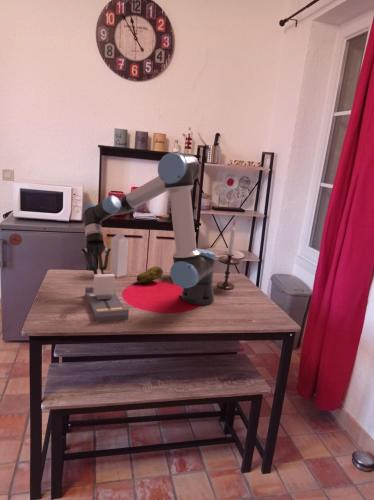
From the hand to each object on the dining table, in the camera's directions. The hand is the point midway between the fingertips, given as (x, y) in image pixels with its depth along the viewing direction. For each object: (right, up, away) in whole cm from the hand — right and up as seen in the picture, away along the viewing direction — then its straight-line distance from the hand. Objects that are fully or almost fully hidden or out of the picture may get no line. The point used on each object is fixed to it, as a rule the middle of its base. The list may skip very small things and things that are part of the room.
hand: (99, 284), depth 155 cm
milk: (+1, +2, +35) cm, 35 cm away
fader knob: (+2, -5, -1) cm, 5 cm away
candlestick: (+56, -4, +34) cm, 66 cm away
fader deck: (+3, -9, -4) cm, 10 cm away
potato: (+18, -2, +29) cm, 34 cm away
